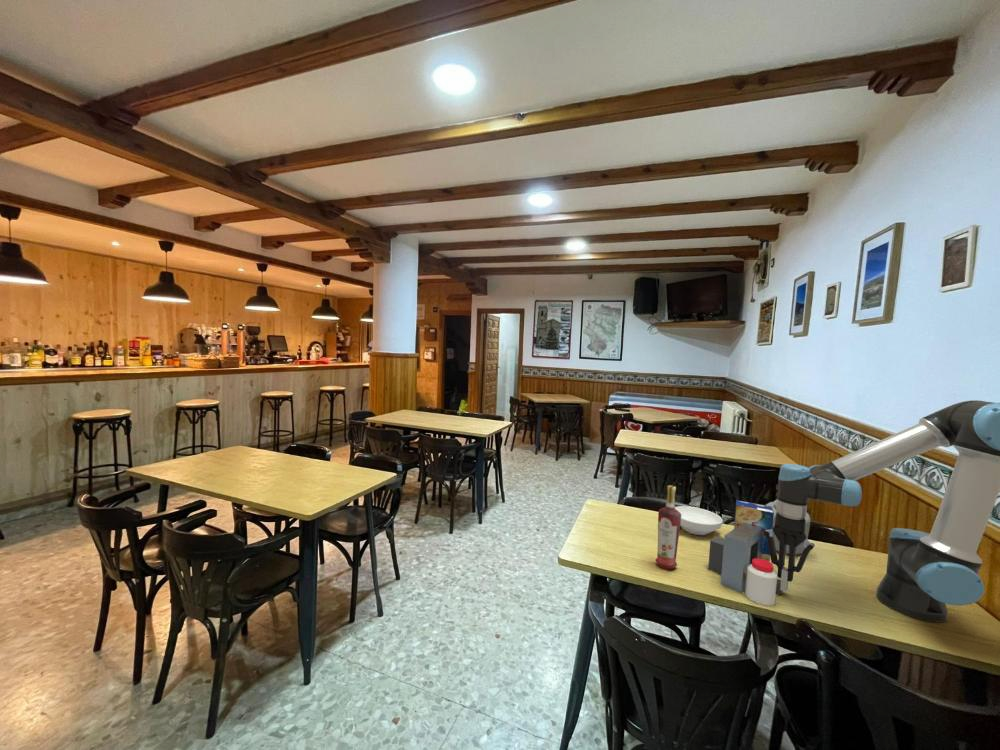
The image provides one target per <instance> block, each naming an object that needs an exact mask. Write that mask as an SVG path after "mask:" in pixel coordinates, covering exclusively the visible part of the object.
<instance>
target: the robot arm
mask: <svg viewBox="0 0 1000 750" xmlns="http://www.w3.org/2000/svg"><path fill="white" fill-rule="evenodd" d="M939 447H943V448H949V447H954V448H955V450H956V451H957V452H958V456H957V458H956V461H955V464H954V467H953V470H952V473H951V475H950V478H949V481H948V484H947V487H946V490H945V493H943V494H944V495H943V497H942V500H941V503H940V506H939V509H938V512H937V513H936V514H937V515H936V517H935V519H934V522H933V524H932V528H931V531H930V533H928V532H925V531H919V530H915V529H909V528H903V527H901V528H900V527H893V528H892V529H891V530H890V532H889V536H888V539H889V540H888V550H887V551H888V552H887V553H888V554H887V559H886V560H887V562H886V573H885V574H884V576H883V578H882V579H881V581H880V583H879V584H878V586H877V588H876V593H875V594H876V598H877V599H878V600H879V601H880V602H881V603H882V604H884V605H885V606H886V607H888V608H891V610H892V609H893V610H894V611H897V612H899V613H901V614H903V615H906V616H909V617H912V618H915V619H918V620H923V621H926V622H932V623H945V622H947V621H948V615H949V614H948V613H949V612H948V607H947V605H951V606H956V607H958V606H967V605H972V604H975V603H977V602H979V601H980V599H982V597H983V596H984V593H985V585H984V584H985V583H984V582H983V580H982V578H981V577H980V575H979V573H980V569H981V567H982V565H983V560H982V558H981V557H980V555H978V553H977V551H978V549H979V546H980V543H981V541H982V538H983V535H984V534H985V530H986V527H987V525H988V523H989V519H990V517H991V515H992V511H993V509H994V507H995V504H996V502H997V499H998V497H999V494H1000V402H991V401H985V400H975V399H974V400H965V401H961V402H957V403H955V404H951V405H949V406H947V407H944V408H942V409H939V410H937V411H934V412H932V413H930V414H928V415H926V416H923V417H921V418H920V419H919V421H918V423H916V424H915V425H913V426H911V427H908V428H905V429H904V430H901V431H898V432H897V433H894V434H891V435H889V436H887V437H885V438H883V439H880V440H877V441H876V442H874V443H872V444H869V445H867V446H864V447H861V448H860V449H858V450H855V451H853V452H851V453H848V454H846V455H843V456H842V457H839V458H837V459H834V460H832V461H830V462H826V463H825V464H822V465H819V464H814V465H810V466H809V467H807V466H804V465H801V464H795V463H784V464H783V463H782V465H781V466H780V468H779V469H780V470H779V474H778V481H777V482H778V485H777V497H776V500H777V505H776V511H777V513H776V517H775V526H774V527H773V529H771V530H766V531H765V532H764V535H765V536H766V538H767V541H768V547H769V552H770V563H772V564H773V565H774V566H777V572H776V574H777V579H780V580H781V586H780V590H782V592H784V593H786V592H787V591H788V590H789V583H792V581H793V580H794V573H800V572H801V570H802V569H803V567H804V566H805V565H804V564H805V563H806V560H807V558H808V555H809V554H810V551H812V550H813V549H814V548H815V546H816V545H815V543H813V542H810V541H809V539H806V535H805V523H806V520H805V519H804V518H805V517H806V512H807V511H808V500H811V501H818V502H823V503H827V504H829V503H830V504H835V505H841V506H847V507H858V506H859V505H860V504H861V501H862V499H863V498H862V497H863V493H862V492H863V491H862V487H861V484H860V483H859V482H858V480H859V479H862V478H864V477H867V476H869V475H872V474H874V473H878V472H879V471H882V470H884V469H887V468H890V467H892V466H894V465H897V464H899V463H902V462H904V461H906V460H910V459H912V458H914V457H917V456H919V455H922V454H924V453H926V452H929V451H931V450H934V449H937V448H939ZM807 513H808V512H807ZM774 534H775V535H776V537H777V539H778V540H779V542H780V543H779V552H778V554H777V551H776V548H775V542H774V538H773V536H774ZM802 542H804V547H805V549H804V550H803V552H802V553H801V556H800V557H799V558H798V559H799V560H798V561H797V563H796V556H797V554H796V547H797V546H798V545H800V544H801V543H802ZM786 545H789V554H788V560H787V561H788V562H787V567H785V566H786V564H785V562H786V554H785V553H786ZM795 564H796V565H795ZM946 604H947V605H946Z"/></svg>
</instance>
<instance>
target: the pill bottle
mask: <svg viewBox="0 0 1000 750" xmlns="http://www.w3.org/2000/svg"><path fill="white" fill-rule="evenodd" d="M774 566H775V565H774V564H773V563H772V562H771V561H770V562H768V561H766V560H763V559H758V558H755V559H752V564H750V565H748V567H747V575H746V587H745V590H744V594H745V597H746V598H748V599H749V601H752V602H753V603H757V604H759V605H762V606H769V607H770V606H774V605H776V595H777V594H776V585H777V579H778V576H777V572H776V571H775V570H774Z"/></svg>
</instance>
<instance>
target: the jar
mask: <svg viewBox="0 0 1000 750" xmlns="http://www.w3.org/2000/svg"><path fill="white" fill-rule="evenodd" d="M776 505H777V499H775V500H774V501H769V502H768V503H766V504H765V506H770V507H772V509H773V512H774V515H773V527H774V526H775V517H776V513H777V511H776ZM804 519H805V520H806V523H805V535H806V539H807V540H809V539H808V538H809V533H810V526H811V516H810V515H809V512H806V517H805V518H804ZM773 527H772V529H773ZM773 538H774V542H775V548H776V552H778V553H779V543H780V542H779V540H778V539H777V537H776V535H775V534H774V536H773ZM804 549H805V547H804V542H802V543H801V544H800V545H798V546H797V547H796V555H799V554H802V552H803V550H804ZM785 555H789V545H786V553H785Z"/></svg>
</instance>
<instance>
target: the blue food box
mask: <svg viewBox="0 0 1000 750" xmlns="http://www.w3.org/2000/svg"><path fill="white" fill-rule="evenodd" d="M734 513H735V514H734V525H733V529H734V528H736V527H737V526H739V525H740V524H741V523H747V524H752V525H756V526H761V527H764V532H765V531H766V530H771V529H772V527H773V515H774V512H773V509H772V507H770V506H766V504H759V503H753V502H748V501H743V500H739V499H736V500H735V511H734ZM762 559H763V560H766V561H768V562H770V563H771V558H770V552H769V547H768V541H767V538H766V536H765V535H764V536H763V548H762Z"/></svg>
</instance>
